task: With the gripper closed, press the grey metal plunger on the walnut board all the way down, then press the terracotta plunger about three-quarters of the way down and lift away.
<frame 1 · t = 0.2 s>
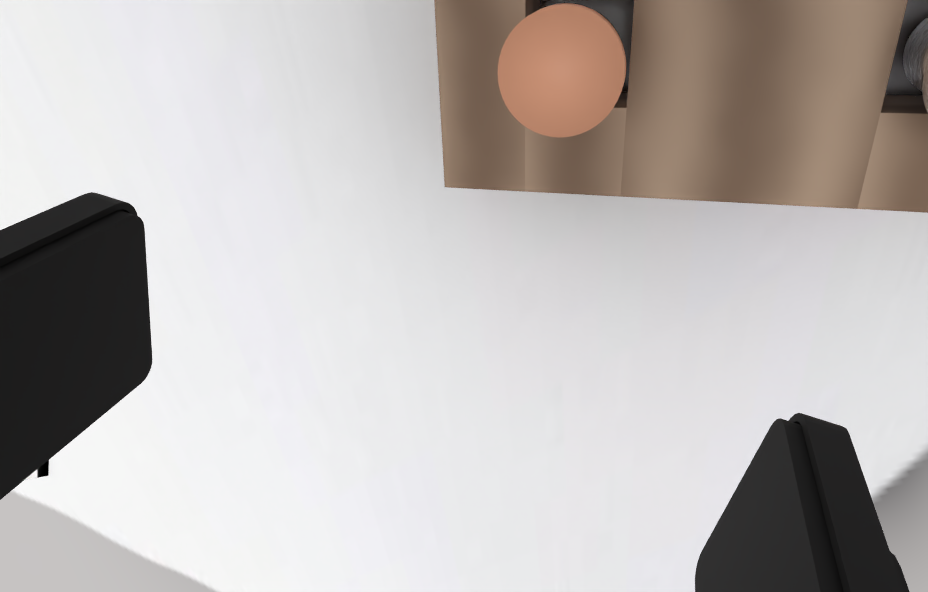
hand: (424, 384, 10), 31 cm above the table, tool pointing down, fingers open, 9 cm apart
button board: (748, 41, 34), on the table
terracotta plunger: (570, 61, 30), point 6 cm above the table, slide at 0.0 cm
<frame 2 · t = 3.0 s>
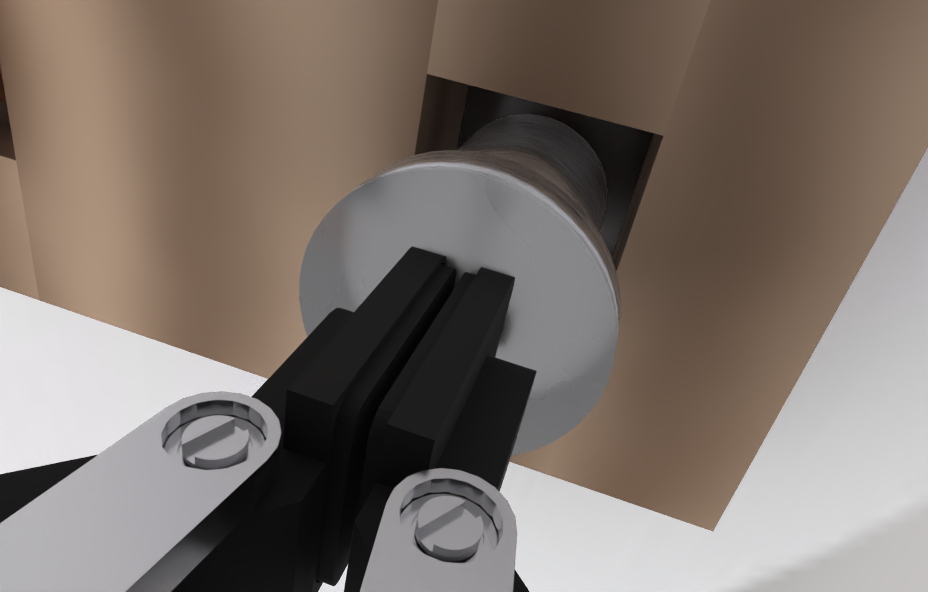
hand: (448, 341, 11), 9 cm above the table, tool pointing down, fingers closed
grey plunger: (495, 247, 13), point 6 cm above the table, slide at 0.4 cm, touching gripper
button board: (279, 89, 20), on the table
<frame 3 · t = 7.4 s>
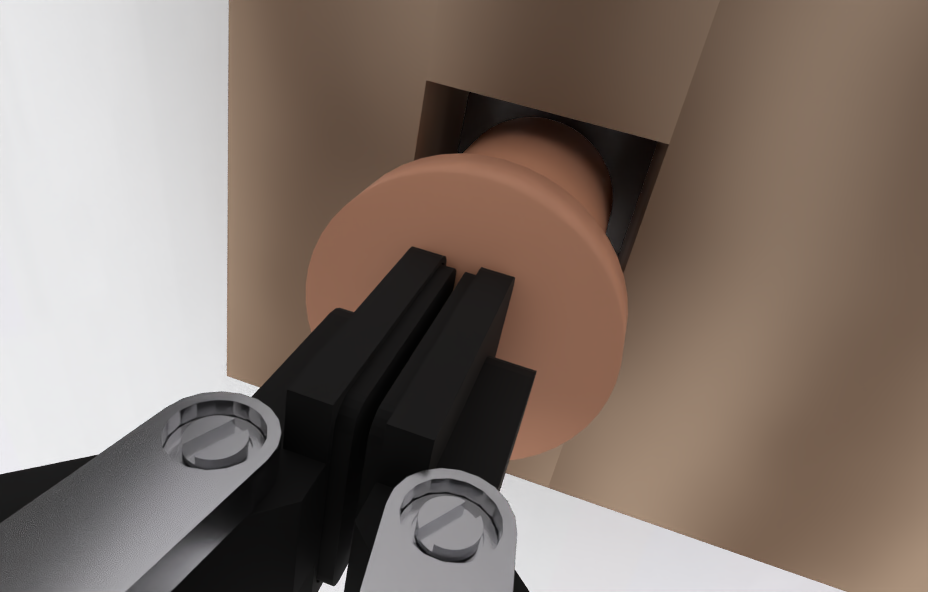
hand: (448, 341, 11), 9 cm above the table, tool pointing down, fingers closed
button board: (855, 255, 17), on the table
terracotta plunger: (501, 250, 13), point 5 cm above the table, slide at 0.8 cm, touching gripper
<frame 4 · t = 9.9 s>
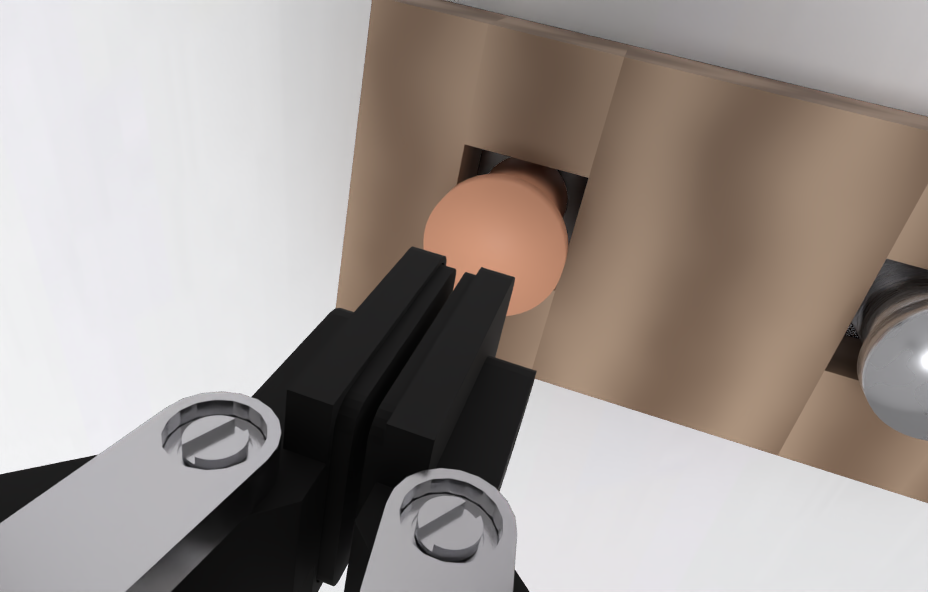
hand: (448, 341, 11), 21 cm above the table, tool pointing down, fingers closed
grey plunger: (920, 332, 25), point 4 cm above the table, slide at 2.6 cm
button board: (703, 239, 30), on the table
terracotta plunger: (510, 221, 27), point 4 cm above the table, slide at 2.0 cm
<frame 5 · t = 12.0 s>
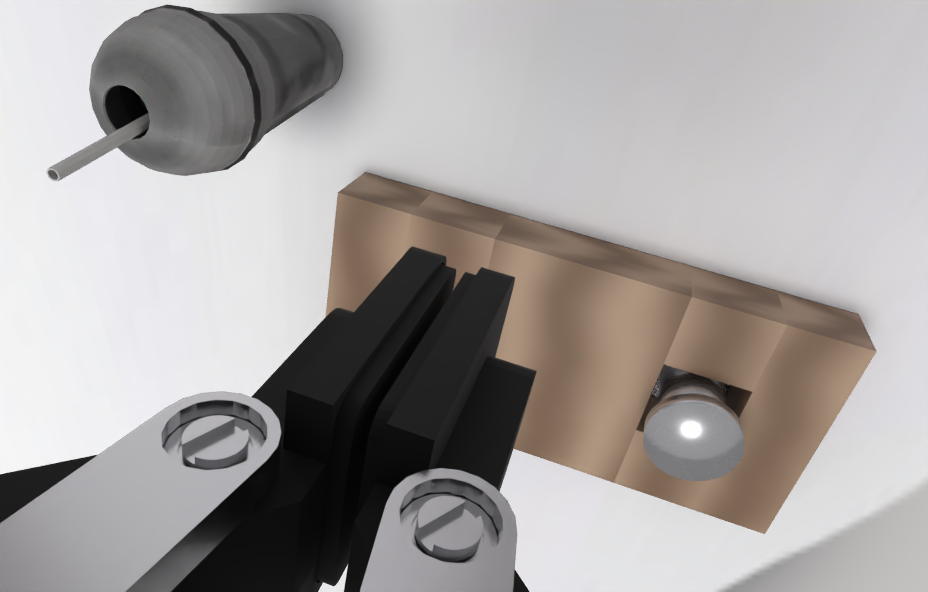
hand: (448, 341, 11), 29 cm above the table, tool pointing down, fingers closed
grey plunger: (691, 408, 39), point 4 cm above the table, slide at 2.6 cm
beverage cup: (309, 55, 40), on the table
button board: (567, 335, 44), on the table
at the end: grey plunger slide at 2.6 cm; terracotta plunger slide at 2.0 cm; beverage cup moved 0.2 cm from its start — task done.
